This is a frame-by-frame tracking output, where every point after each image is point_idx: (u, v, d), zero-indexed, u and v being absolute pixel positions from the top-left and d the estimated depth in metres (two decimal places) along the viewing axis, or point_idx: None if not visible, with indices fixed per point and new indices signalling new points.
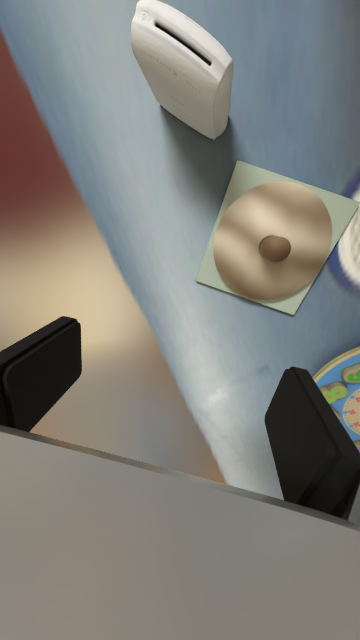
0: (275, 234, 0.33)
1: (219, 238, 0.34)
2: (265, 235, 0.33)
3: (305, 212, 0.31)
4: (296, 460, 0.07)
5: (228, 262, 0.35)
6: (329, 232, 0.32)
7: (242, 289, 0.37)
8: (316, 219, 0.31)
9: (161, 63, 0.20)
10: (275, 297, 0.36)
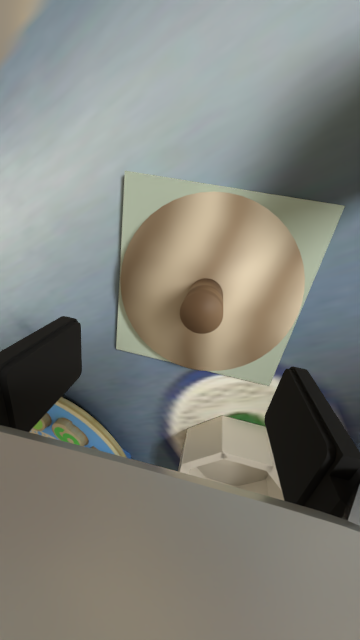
0: (224, 299, 0.20)
1: (209, 202, 0.18)
2: (221, 284, 0.20)
3: (258, 331, 0.21)
4: (296, 459, 0.07)
5: (169, 231, 0.19)
6: (232, 365, 0.23)
7: (131, 267, 0.21)
8: (248, 347, 0.22)
9: None
10: (132, 321, 0.23)
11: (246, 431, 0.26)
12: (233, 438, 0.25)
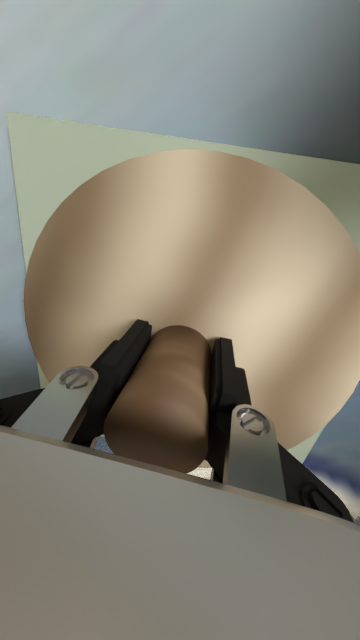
0: None
1: (178, 175, 0.08)
2: (208, 337, 0.11)
3: (275, 416, 0.12)
4: None
5: (101, 236, 0.09)
6: None
7: (40, 303, 0.11)
8: None
9: None
10: None
11: None
12: None
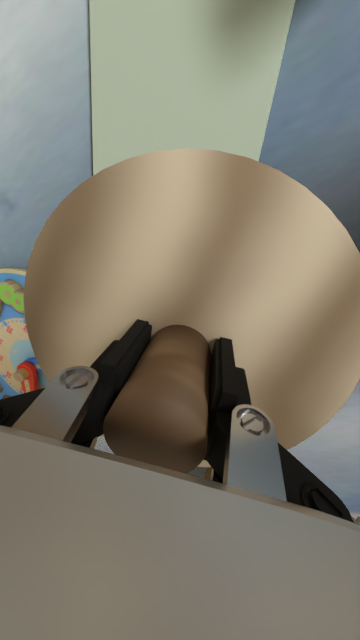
0: None
1: (178, 174, 0.08)
2: (208, 336, 0.11)
3: (275, 415, 0.12)
4: None
5: (101, 236, 0.09)
6: None
7: (40, 302, 0.11)
8: None
9: None
10: None
11: None
12: None
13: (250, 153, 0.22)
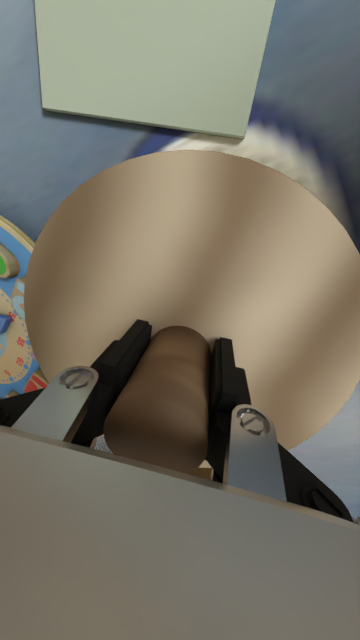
0: None
1: (178, 175, 0.08)
2: (208, 337, 0.11)
3: (275, 416, 0.12)
4: None
5: (101, 237, 0.09)
6: None
7: (40, 303, 0.11)
8: None
9: None
10: None
11: None
12: None
13: (260, 2, 0.15)
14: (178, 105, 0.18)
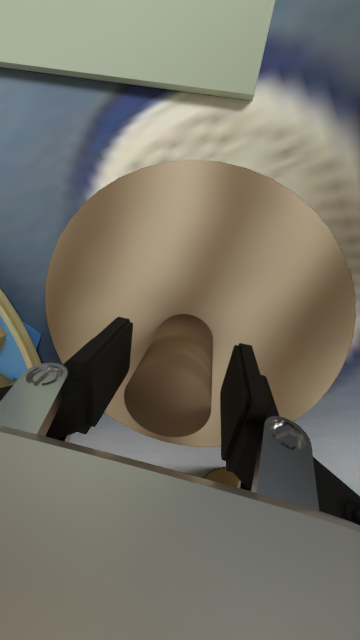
0: (215, 347, 0.12)
1: (185, 182, 0.09)
2: (211, 324, 0.12)
3: None
4: (230, 417, 0.08)
5: (116, 235, 0.11)
6: None
7: (60, 294, 0.13)
8: None
9: None
10: None
11: None
12: None
13: None
14: (154, 47, 0.12)
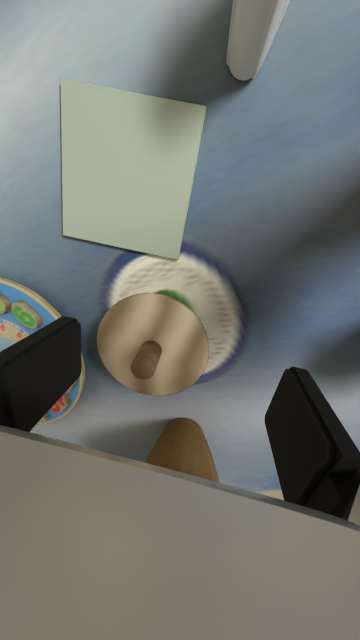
0: (163, 352, 0.33)
1: (150, 300, 0.30)
2: (160, 344, 0.32)
3: (185, 372, 0.34)
4: (296, 460, 0.07)
5: (127, 313, 0.31)
6: (171, 392, 0.35)
7: (103, 332, 0.33)
8: (180, 381, 0.34)
9: None
10: (104, 364, 0.35)
11: None
12: None
13: (181, 204, 0.30)
14: (141, 242, 0.33)
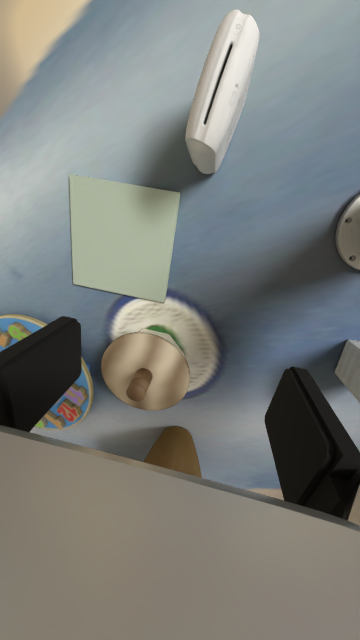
0: (153, 377, 0.41)
1: (141, 338, 0.38)
2: (151, 371, 0.40)
3: (171, 392, 0.42)
4: (296, 459, 0.07)
5: (124, 348, 0.39)
6: (161, 408, 0.44)
7: (106, 361, 0.41)
8: (168, 399, 0.42)
9: (206, 61, 0.20)
10: (108, 385, 0.43)
11: (155, 334, 0.43)
12: None
13: (164, 262, 0.38)
14: (135, 289, 0.41)
